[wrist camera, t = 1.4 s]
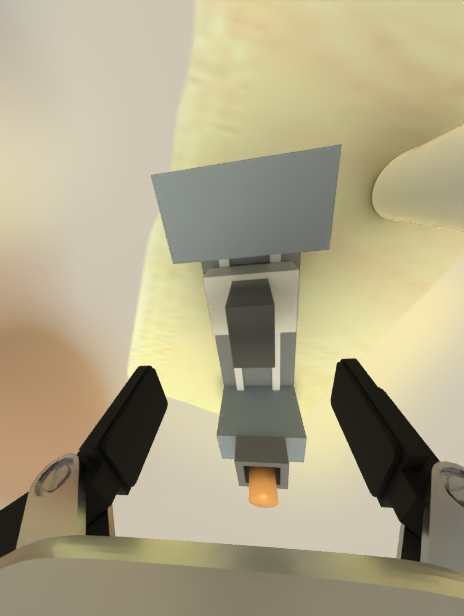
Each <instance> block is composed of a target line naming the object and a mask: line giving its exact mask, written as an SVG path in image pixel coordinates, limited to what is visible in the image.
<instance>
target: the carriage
mask: <svg viewBox="0 0 464 616" xmlns="http://www.w3.org/2000/svg"><path fill="white" fill-rule="evenodd" d="M203 282H204V288H205V293H206V298H207V304H208V309H209V314H210V320H211V325H212V330H213V335H229V340H230V347H231V354H232V361H233V368H275V333H284V332H296V324H297V305H298V286H299V269H298V268H297V267H296V265H295V264H294V263H293V262H292V261H288V262H277V263H265V264H254V265H242V266H231V267H219V268H209V270H208V271H207V272H206V274H205V275H204V277H203Z"/></svg>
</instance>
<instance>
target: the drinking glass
mask: <svg viewBox="0 0 464 616" xmlns="http://www.w3.org/2000/svg"><path fill="white" fill-rule="evenodd" d="M372 203H373V207H374V209H375V211H376V212H377V213H378V214H379V215H380V216H381V217H383V218H385V219H387V220H392V221H405V222H410V223H416V224H421V225H426V226H431V227H436V228H442V229H447V230H452V231H457V232H462V233H464V124H463V125H461V126H459V127H457V128H455V129H453V130H451V131H449V132H447V133H445V134H443V135H441V136H439V137H437V138H435V139H433V140H431V141H429V142H427V143H425V144H423V145H420V146H418V147H415V148H413V149H410V150H408V151H406V152H404V153H402V154H400V155H399V156H397V157H396V158H394V159H393V160H392V161H391V162H390V163H389V164H388V165H387V166H386V167H385V168H384V169H383V170H382V172H381V173H380V175H379V176H378V178H377V180H376V182H375V185H374V188H373V193H372Z"/></svg>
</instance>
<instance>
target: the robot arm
mask: <svg viewBox="0 0 464 616" xmlns="http://www.w3.org/2000/svg"><path fill="white" fill-rule="evenodd" d="M167 405H168V402H167V399H166V397H165V394H164V391H163V389H162V386H161V384H160V381H159V378H158V376H157V373H156V371H155V369H154V368H152V366H139V367H138V368H137V369H136V371H135V372H134V373H133V375H132V376H131V378H130V379H129V380H128V382H127V383H126V385H125V386H124V387H123V389H122V390H121V392H120V393H119V394H118V396H117V397H116V399H115V400H114V402H113V403H112V404H111V406H110V407H109V408H108V410H107V411H106V412H105V414H104V415H103V417H102V418H101V419H100V421H99V422H98V424H97V425H96V426H95V428H94V429H93V431H92V432H91V433H90V435H89V436H88V438H87V439H86V440H85V442H84V443H83V445H82V446H81V447H80V449H79V450H80V451H79V452H78V454H77V455H76V454H71V453H70V454H66V455H63V456H61V457H59V458H57V459H55V460H54V461H52V462H51V463H50V464H49V465H47V466H46V467H45V468H44V469H43V470H42V471H41V472H40V473H39V475H38V476H37V477H36V479H35V480H34V482H33V483H32V485H31V487H30V490H29V492H27V493H26V494H24V495H23V496H21V497H20V498H18V499H17V500H16V501H14V502H12V503H11V504H9V505H8V506H6V507H5V508H3V509H2V510H0V616H464V467H462V466H460V465H458V464H455V463H451V462H446V461H444V462H440V461H439V460H438V458H437V457H436V456H435V455H434V453H433V452H432V451H431V449H430V448H429V447H428V446H427V444H426V443H425V442H424V441H423V439H422V438H421V437H420V436H419V434H418V433H417V432H416V430H415V429H414V428H413V427H412V425H411V424H410V423H409V422H408V420H407V419H406V418H405V416H404V415H403V414H402V413H401V411H400V410H399V409H398V408H397V406H396V405H395V404H394V402H393V401H392V400H391V399H390V397H389V396H388V395H387V394H386V392H385V391H384V390H383V389H381V388H379V387H377V385H376V384H375V383H374V381H373V380H372V379H371V378H370V376H369V375H368V374H367V372H366V371H365V370H364V368H363V367H362V366H361V365H360V363H359V362H358V361H357V360H356V359H341V361H340V362H338V363H337V366H336V372H335V378H334V383H333V389H332V395H331V406H332V408H333V411H334V413H335V415H336V417H337V420H338V422H339V424H340V426H341V428H342V431H343V433H344V435H345V437H346V440H347V442H348V444H349V446H350V448H351V451H352V453H353V455H354V458H355V460H356V462H357V464H358V467H359V469H360V471H361V473H362V476H363V478H364V480H365V482H366V485H367V487H368V489H369V491H370V493H371V494H372V496H374V497H377V499H378V501H379V503H380V506H381V507H389V508H393V509H394V511H395V513H396V515H397V517H398V519H399V521H400V522H401V527H400V535H399V542H398V550H397V558H387V557H376V556H367V555H357V554H347V553H334V552H322V551H309V550H297V549H283V548H271V547H258V546H244V545H231V544H218V543H217V544H216V543H203V542H189V541H176V540H161V539H146V538H131V537H115V529H114V518H113V507H112V503H113V500H114V498H115V496H116V495H128V494H129V491H130V489H131V487H133V486H134V485H135V483H136V482H137V480H138V477H139V475H140V472H141V470H142V467H143V465H144V462H145V460H146V458H147V455H148V453H149V451H150V448H151V446H152V443H153V441H154V438H155V435H156V433H157V431H158V429H159V426H160V424H161V421H162V419H163V417H164V414H165V412H166V409H167Z"/></svg>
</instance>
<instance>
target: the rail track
mask: <svg viewBox="0 0 464 616" xmlns="http://www.w3.org/2000/svg"><path fill="white" fill-rule="evenodd" d="M340 152H341V145H335V146H329V147H323V148H317V149H310V150H304V151H298V152H292V153H286V154H279V155H273V156H267V157H261V158H254V159H248V160H242V161H236V162H229V163H223V164H217V165H211V166H205V167H198V168H192V169H186V170H180V171H173V172H167V173H162V174H155V175H151V178H152V181H153V186H154V190H155V193H156V197H157V201H158V205H159V209H160V213H161V217H162V221H163V225H164V229H165V233H166V237H167V241H168V245H169V249H170V253H171V257H172V261H173V264H178V263H189V262H200V261H201V262H202V267H203V273H204V275H205V274H206V272H207V271H208V270H209V268H219V267H231V266H242V265H254V264H265V263H277V262H288V261H292V262H293V263H294V264H295V265H296V267H297V268H298V269H299V272H300V253H301V252H307V251H318V250H328V249H329V245H330V237H331V228H332V220H333V211H334V203H335V194H336V186H337V178H338V169H339V161H340ZM298 291H299V286H298ZM297 310H298V305H297ZM296 329H297V324H296ZM215 338H216V344H217V349H218V355H219V360H220V366H221V371H222V376H223V382H224V390H223V397H222V403H221V410H220V417H219V423H218V430H217V439H218V443H219V447H220V451H221V455H222V458H223V459H235V460H234V461H235V466H236V472H237V477H238V482H239V486H249V466H258V467H275V475H276V485H277V488H280V489H288V475H289V462H304V455H305V447H306V435H305V430H304V426H303V422H302V418H301V414H300V410H299V406H298V402H297V398H296V393H295V389H294V367H295V348H296V332H284V333H275V368H233V361H232V354H231V347H230V340H229V335H215Z"/></svg>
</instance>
